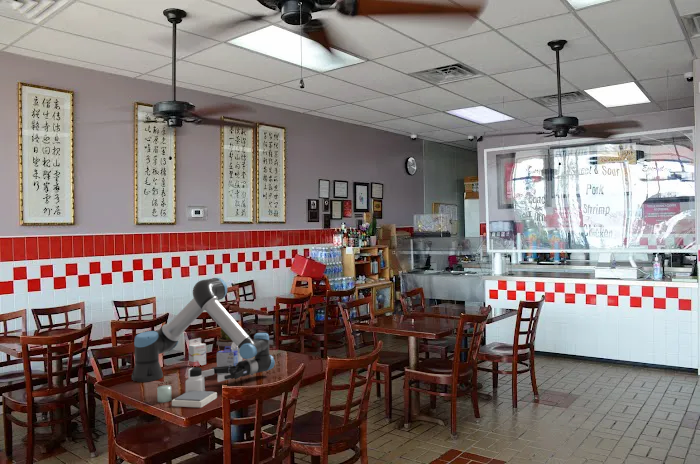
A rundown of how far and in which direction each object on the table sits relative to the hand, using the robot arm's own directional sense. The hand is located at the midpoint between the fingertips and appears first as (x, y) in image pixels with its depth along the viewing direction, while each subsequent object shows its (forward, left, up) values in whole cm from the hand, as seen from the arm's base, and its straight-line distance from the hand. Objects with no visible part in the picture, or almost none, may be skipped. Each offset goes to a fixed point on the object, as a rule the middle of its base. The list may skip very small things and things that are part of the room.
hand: (209, 376), depth 257 cm
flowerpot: (-22, +66, -7) cm, 70 cm away
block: (-13, -17, -7) cm, 23 cm away
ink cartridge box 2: (-5, +29, -7) cm, 30 cm away
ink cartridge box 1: (-32, +46, -7) cm, 56 cm away
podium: (+2, -17, -7) cm, 19 cm away
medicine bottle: (-4, -6, -7) cm, 10 cm away
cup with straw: (-9, +49, -7) cm, 50 cm away
